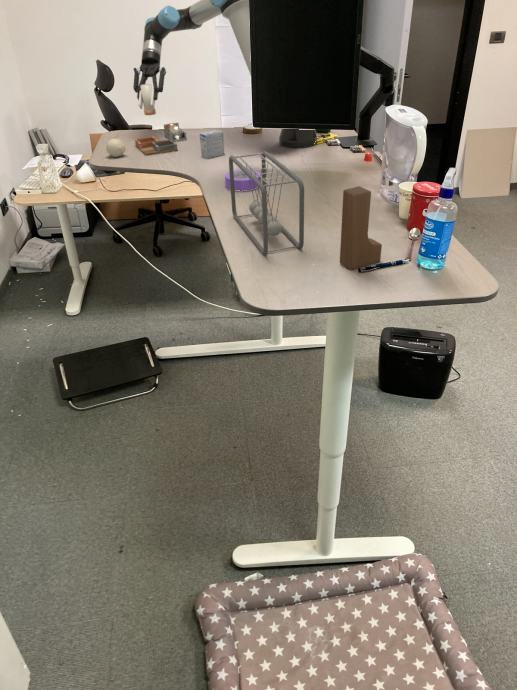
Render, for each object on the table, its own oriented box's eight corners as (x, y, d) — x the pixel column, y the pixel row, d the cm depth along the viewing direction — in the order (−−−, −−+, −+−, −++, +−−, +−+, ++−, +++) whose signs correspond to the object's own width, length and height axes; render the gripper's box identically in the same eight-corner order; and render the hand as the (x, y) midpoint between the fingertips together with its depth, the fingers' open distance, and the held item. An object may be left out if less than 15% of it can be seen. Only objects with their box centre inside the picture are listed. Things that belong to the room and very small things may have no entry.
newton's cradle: (232, 216, 157) (227, 153, 147) (266, 211, 160) (264, 148, 149) (264, 258, 133) (262, 187, 123) (304, 251, 136) (305, 181, 126)
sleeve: (157, 114, 226) (153, 85, 219) (146, 115, 224) (141, 86, 218) (154, 111, 229) (150, 83, 223) (143, 113, 228) (138, 84, 221)
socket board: (177, 150, 216) (176, 144, 215) (145, 155, 212) (144, 148, 211) (166, 141, 229) (165, 134, 228) (135, 145, 225) (134, 139, 224)
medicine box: (218, 152, 212) (216, 129, 207) (224, 155, 209) (223, 131, 204) (201, 156, 208) (199, 133, 203) (207, 159, 205) (205, 135, 200)
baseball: (123, 159, 210) (120, 141, 206) (105, 159, 211) (102, 141, 207) (129, 154, 215) (126, 136, 211) (111, 154, 216) (108, 136, 212)
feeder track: (186, 140, 229) (185, 126, 226) (172, 142, 227) (170, 128, 224) (179, 134, 238) (177, 121, 235) (165, 136, 236) (163, 123, 233)
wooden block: (369, 254, 133) (375, 181, 123) (380, 261, 130) (388, 187, 119) (338, 263, 129) (342, 189, 119) (350, 270, 126) (355, 195, 116)
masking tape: (255, 178, 185) (254, 167, 183) (265, 189, 176) (265, 177, 174) (221, 183, 182) (220, 171, 180) (231, 194, 173) (230, 182, 171)
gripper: (174, 61, 228) (169, 112, 224) (134, 62, 230) (128, 112, 226) (169, 48, 221) (164, 100, 217) (128, 49, 223) (122, 101, 219)
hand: (146, 106), depth 222 cm, fingers closed on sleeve, 4 cm apart
